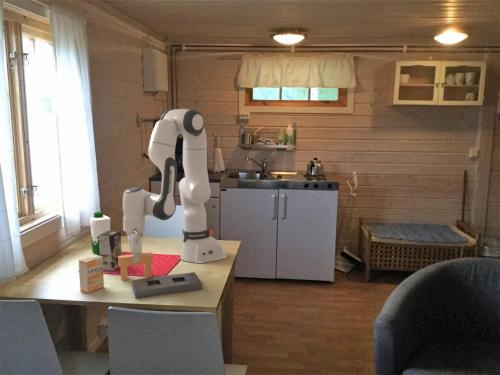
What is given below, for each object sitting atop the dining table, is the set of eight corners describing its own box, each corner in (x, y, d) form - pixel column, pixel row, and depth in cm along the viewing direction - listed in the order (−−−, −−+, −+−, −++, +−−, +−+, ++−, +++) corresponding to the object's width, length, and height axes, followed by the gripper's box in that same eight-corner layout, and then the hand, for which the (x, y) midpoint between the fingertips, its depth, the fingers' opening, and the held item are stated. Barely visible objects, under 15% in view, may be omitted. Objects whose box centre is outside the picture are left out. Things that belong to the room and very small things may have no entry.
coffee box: (113, 271, 204) (111, 236, 201) (99, 270, 206) (98, 235, 203) (122, 264, 213) (121, 230, 210) (110, 263, 214) (108, 229, 211)
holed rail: (194, 278, 195) (194, 272, 195) (201, 289, 184) (201, 282, 184) (131, 287, 186) (131, 280, 186) (135, 298, 175) (135, 291, 175)
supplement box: (88, 294, 179) (86, 262, 177) (79, 291, 182) (77, 259, 180) (104, 287, 186) (103, 256, 184) (96, 284, 189) (95, 254, 186)
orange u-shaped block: (152, 274, 200) (151, 252, 199) (153, 276, 198) (152, 254, 196) (119, 278, 196) (118, 255, 194) (119, 280, 193) (118, 258, 191)
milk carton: (107, 248, 236) (105, 210, 232) (114, 253, 229) (112, 214, 225) (90, 252, 230) (87, 213, 227) (96, 256, 223) (94, 216, 220)
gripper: (145, 231, 184) (145, 265, 186) (138, 220, 203) (139, 250, 205) (129, 233, 182) (129, 266, 184) (123, 221, 201) (124, 251, 203)
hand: (134, 257), depth 195 cm, fingers open, 8 cm apart
